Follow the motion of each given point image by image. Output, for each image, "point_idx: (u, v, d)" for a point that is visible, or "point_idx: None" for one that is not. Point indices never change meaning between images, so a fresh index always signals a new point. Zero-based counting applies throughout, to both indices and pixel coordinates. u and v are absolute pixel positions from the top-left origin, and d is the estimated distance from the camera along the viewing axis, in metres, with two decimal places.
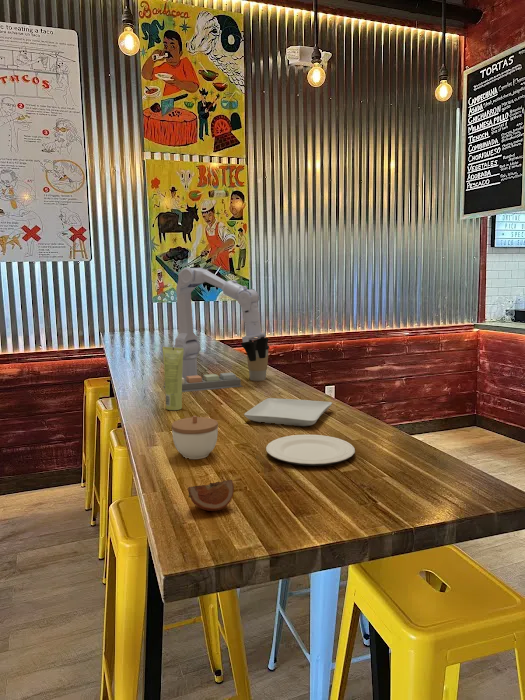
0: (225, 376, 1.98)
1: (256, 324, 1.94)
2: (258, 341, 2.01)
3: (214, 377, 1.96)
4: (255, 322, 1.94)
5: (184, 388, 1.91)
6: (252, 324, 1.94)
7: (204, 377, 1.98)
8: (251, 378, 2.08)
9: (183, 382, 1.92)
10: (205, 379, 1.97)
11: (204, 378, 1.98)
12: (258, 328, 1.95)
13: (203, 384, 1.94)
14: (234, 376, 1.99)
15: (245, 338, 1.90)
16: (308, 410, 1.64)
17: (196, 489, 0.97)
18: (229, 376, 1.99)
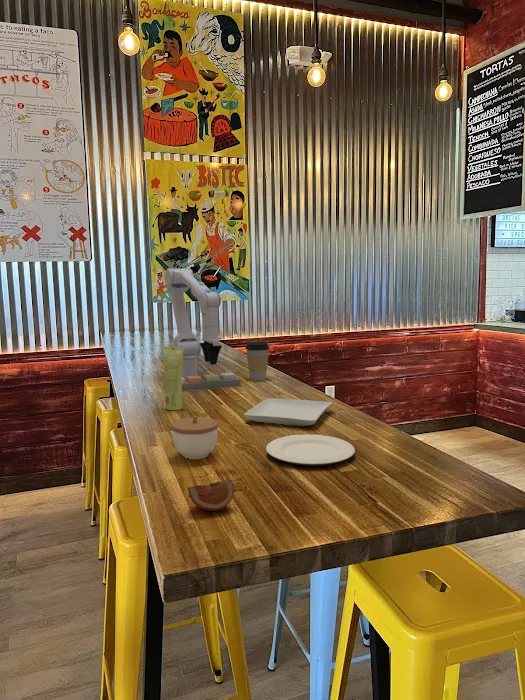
0: (225, 376, 1.98)
1: (217, 328, 1.95)
2: (206, 344, 1.99)
3: (214, 377, 1.96)
4: (217, 326, 1.95)
5: (184, 388, 1.91)
6: (215, 328, 1.94)
7: (204, 377, 1.98)
8: (251, 378, 2.08)
9: (183, 382, 1.92)
10: (205, 379, 1.97)
11: (204, 378, 1.98)
12: None
13: (203, 384, 1.94)
14: (234, 376, 1.99)
15: (217, 342, 1.90)
16: (308, 410, 1.64)
17: (196, 489, 0.97)
18: (229, 376, 1.99)
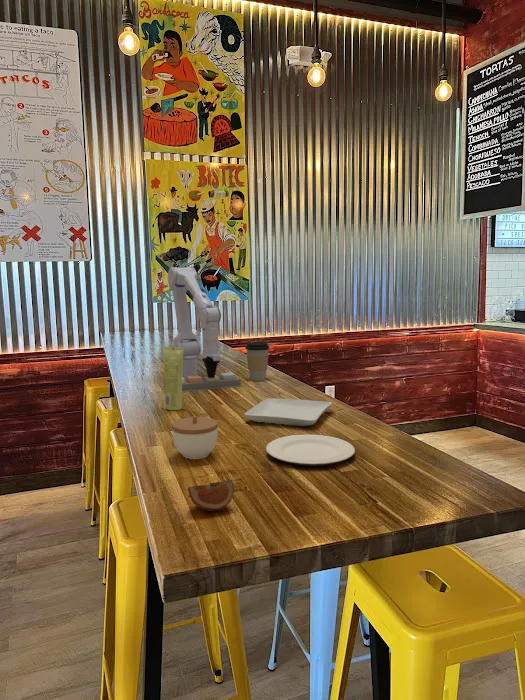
0: (225, 376, 1.98)
1: None
2: None
3: (214, 379, 1.96)
4: (217, 341, 1.96)
5: (184, 388, 1.91)
6: (216, 342, 1.95)
7: (204, 379, 1.98)
8: (251, 378, 2.08)
9: (183, 382, 1.92)
10: None
11: (204, 380, 1.98)
12: None
13: (203, 384, 1.94)
14: (234, 376, 1.99)
15: (217, 357, 1.91)
16: (308, 410, 1.64)
17: (196, 489, 0.97)
18: (229, 376, 1.99)
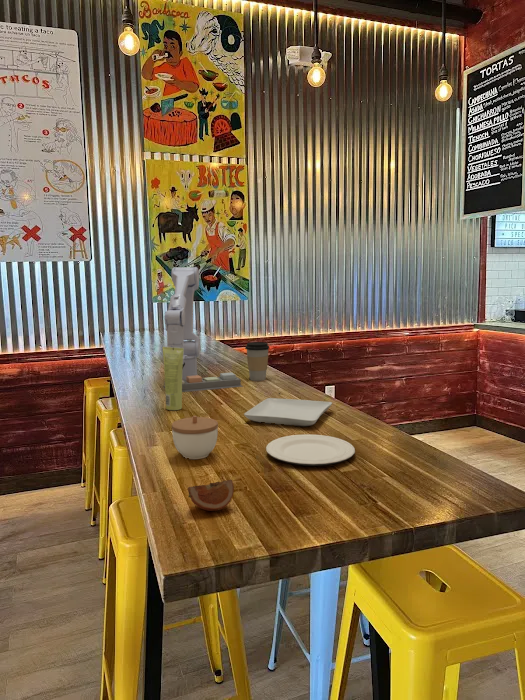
0: (225, 376, 1.98)
1: (183, 346, 1.91)
2: None
3: (214, 380, 1.97)
4: (183, 344, 1.91)
5: (184, 388, 1.91)
6: (181, 346, 1.90)
7: (204, 380, 1.98)
8: (251, 378, 2.08)
9: None
10: None
11: None
12: None
13: (203, 384, 1.94)
14: (234, 376, 1.99)
15: None
16: (308, 410, 1.64)
17: (196, 489, 0.97)
18: (229, 376, 1.99)
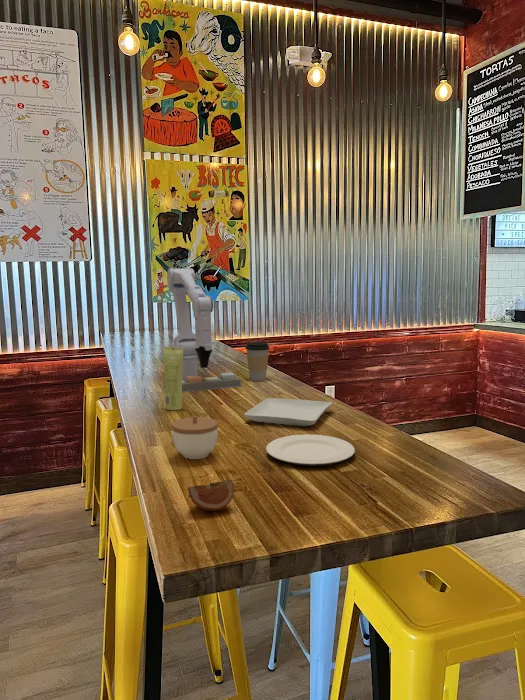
0: (225, 376, 1.98)
1: (210, 332, 1.94)
2: None
3: (214, 380, 1.97)
4: (210, 330, 1.94)
5: (184, 388, 1.91)
6: (208, 332, 1.93)
7: (204, 380, 1.98)
8: (251, 378, 2.08)
9: None
10: None
11: None
12: None
13: (203, 384, 1.94)
14: (234, 376, 1.99)
15: (209, 346, 1.89)
16: (308, 410, 1.64)
17: (196, 489, 0.97)
18: (229, 376, 1.99)
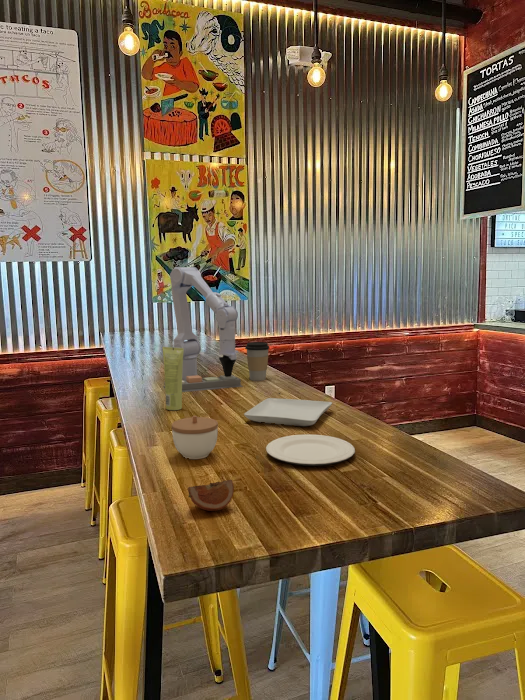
0: (225, 378, 1.98)
1: (234, 342, 1.98)
2: None
3: (214, 380, 1.97)
4: (234, 340, 1.98)
5: (184, 388, 1.91)
6: (233, 342, 1.97)
7: (204, 380, 1.98)
8: (251, 378, 2.08)
9: None
10: None
11: None
12: None
13: (203, 384, 1.94)
14: (234, 378, 1.99)
15: (234, 356, 1.93)
16: (308, 410, 1.64)
17: (196, 489, 0.97)
18: (229, 378, 1.99)
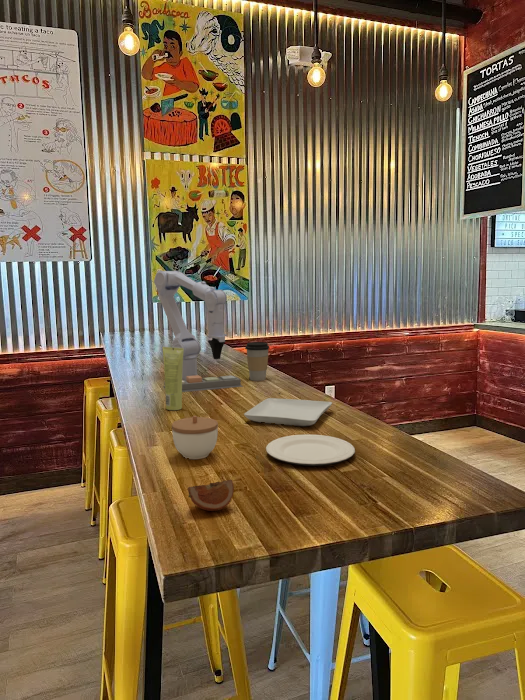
0: (225, 379, 1.98)
1: (223, 325, 2.01)
2: None
3: (214, 380, 1.97)
4: (223, 323, 2.01)
5: (184, 388, 1.91)
6: (221, 324, 2.00)
7: (204, 380, 1.98)
8: (251, 378, 2.08)
9: None
10: None
11: None
12: (223, 329, 2.02)
13: (203, 384, 1.94)
14: None
15: (223, 338, 1.96)
16: (308, 410, 1.64)
17: (196, 489, 0.97)
18: (229, 379, 1.99)
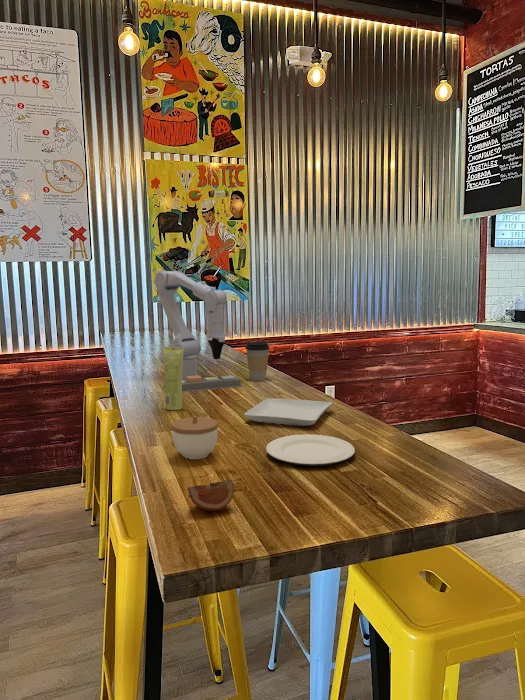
0: (225, 379, 1.98)
1: (223, 325, 2.01)
2: None
3: (214, 380, 1.97)
4: (223, 323, 2.01)
5: (184, 388, 1.91)
6: (221, 324, 2.00)
7: (204, 380, 1.98)
8: (251, 378, 2.08)
9: None
10: None
11: None
12: (223, 329, 2.02)
13: (203, 384, 1.94)
14: None
15: (223, 338, 1.96)
16: (308, 410, 1.64)
17: (196, 489, 0.97)
18: (229, 379, 1.99)
